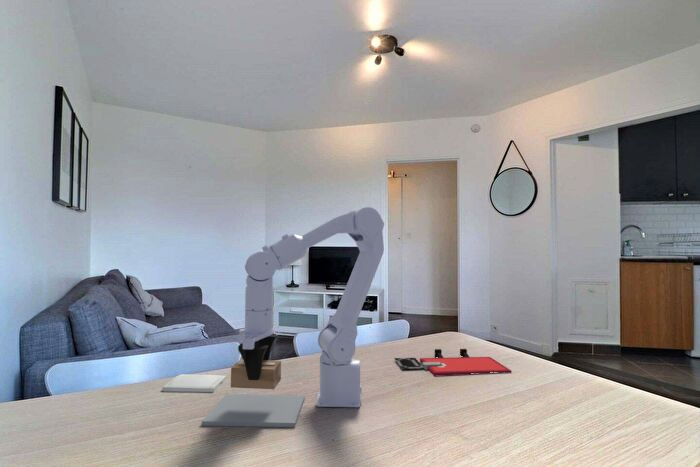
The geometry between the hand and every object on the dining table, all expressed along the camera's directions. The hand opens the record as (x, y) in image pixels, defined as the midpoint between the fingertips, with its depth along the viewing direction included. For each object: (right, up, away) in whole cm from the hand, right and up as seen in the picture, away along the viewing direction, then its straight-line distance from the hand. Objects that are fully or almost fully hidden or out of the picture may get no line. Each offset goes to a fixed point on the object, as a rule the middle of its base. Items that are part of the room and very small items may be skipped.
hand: (258, 374), depth 71 cm
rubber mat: (0, -8, 0) cm, 8 cm away
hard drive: (-19, -9, +13) cm, 25 cm away
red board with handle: (+48, -10, +28) cm, 57 cm away
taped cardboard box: (0, -2, 0) cm, 2 cm away
